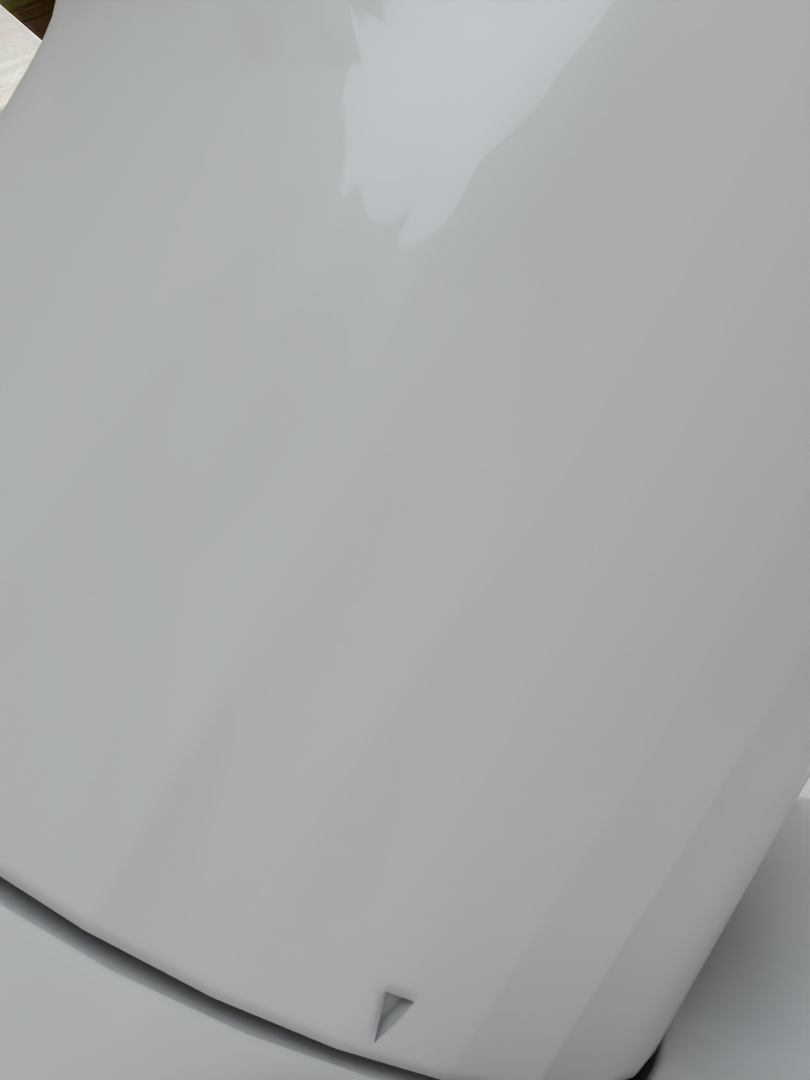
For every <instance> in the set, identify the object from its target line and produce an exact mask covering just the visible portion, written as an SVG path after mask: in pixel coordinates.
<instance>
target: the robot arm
mask: <svg viewBox="0 0 810 1080" xmlns="http://www.w3.org/2000/svg"><path fill="white" fill-rule="evenodd" d="M53 6H54V7H53V11H52V16H51V18H50V20H49V23H48V26H47V28H46V30H45V33H44V35H43V38H42V40H41V42H40V44H39V46H38V47H37V50H36V51H35V53H34V55H33V57H32V59H31V61H30V63H29V65H28V66H27V68H26V70H25V72H24V74H23V75H22V77H21V79H20V80H19V82H18V83H17V85H16V87H15V89H14V90H13V92H12V94H11V96H10V97H9V99H8V100H7V102H6V104H5V106H4V108H3V109H2V111H1V113H0V1080H810V0H55V2H54V5H53Z"/></svg>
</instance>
